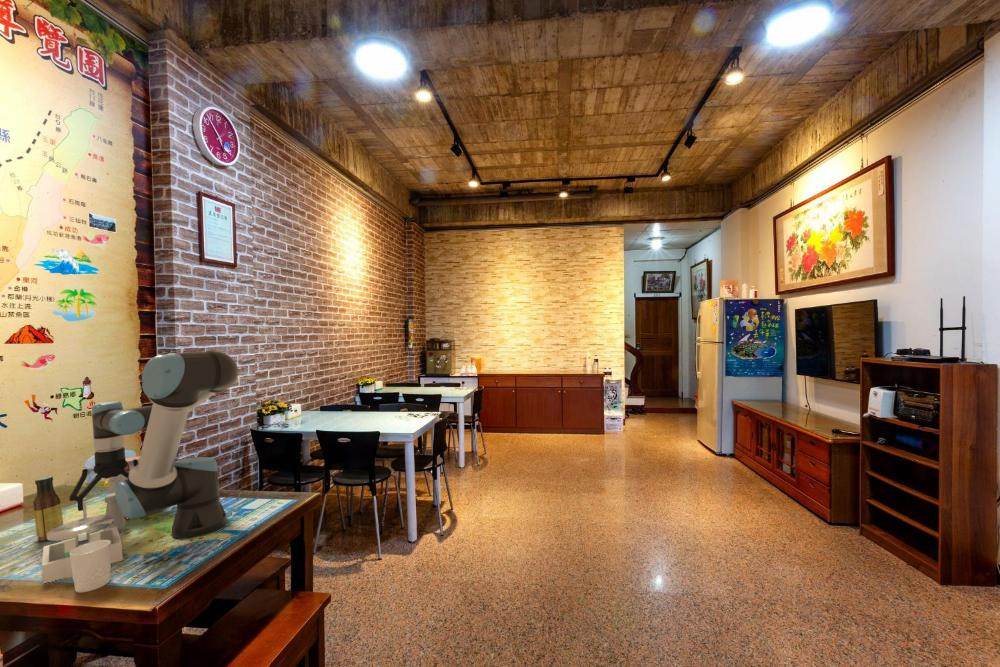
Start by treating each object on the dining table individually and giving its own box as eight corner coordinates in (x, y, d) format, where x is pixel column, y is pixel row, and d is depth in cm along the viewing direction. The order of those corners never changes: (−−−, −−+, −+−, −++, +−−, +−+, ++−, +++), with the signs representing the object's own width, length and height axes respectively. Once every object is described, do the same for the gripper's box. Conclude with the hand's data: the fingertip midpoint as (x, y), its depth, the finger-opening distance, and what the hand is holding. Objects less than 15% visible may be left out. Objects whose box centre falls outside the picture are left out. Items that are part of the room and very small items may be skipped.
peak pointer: (88, 542, 121) (87, 540, 121) (78, 545, 120) (77, 542, 120) (87, 539, 122) (87, 537, 122) (77, 542, 121) (77, 540, 121)
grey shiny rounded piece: (118, 548, 125) (116, 527, 125) (47, 569, 115) (45, 546, 115) (112, 530, 138) (111, 511, 138) (48, 548, 128) (47, 527, 128)
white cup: (68, 588, 114) (65, 550, 114) (107, 573, 121) (105, 537, 120) (77, 597, 110) (74, 557, 109) (117, 581, 116) (115, 543, 116)
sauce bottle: (68, 531, 150) (64, 473, 149) (57, 539, 144) (53, 478, 143) (42, 535, 147) (38, 476, 147) (31, 544, 141) (26, 482, 141)
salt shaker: (112, 537, 143) (110, 497, 143) (98, 536, 144) (96, 497, 144) (131, 529, 149) (128, 490, 149) (117, 528, 150) (115, 490, 150)
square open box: (123, 560, 127) (120, 526, 127) (43, 585, 116) (40, 548, 116) (117, 542, 139) (115, 511, 139) (44, 563, 128) (42, 529, 128)
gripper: (155, 439, 157) (158, 498, 158) (56, 455, 140) (60, 522, 140) (158, 442, 152) (162, 503, 153) (56, 460, 135) (60, 529, 135)
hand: (113, 512), depth 147 cm, fingers open, 13 cm apart
